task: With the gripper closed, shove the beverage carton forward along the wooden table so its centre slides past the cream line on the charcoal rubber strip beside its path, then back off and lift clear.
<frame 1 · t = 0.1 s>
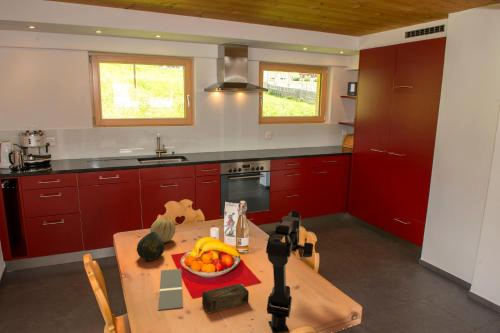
hand: (292, 257, 159), 15 cm above the table, tool tilted 30°, fingers open, 9 cm apart
squash: (150, 257, 188), on the table
cantaloupe: (163, 241, 210), on the table
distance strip: (170, 287, 158), on the table
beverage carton: (225, 304, 147), on the table
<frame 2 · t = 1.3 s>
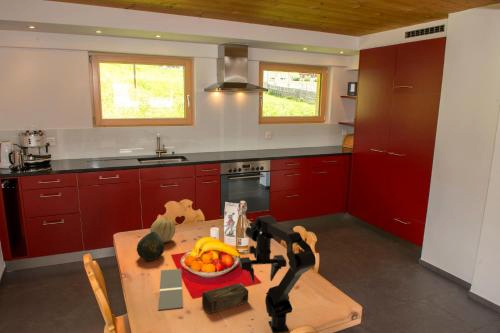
hand: (262, 281, 141), 13 cm above the table, tool pointing down, fingers open, 7 cm apart
nothing on the table moved.
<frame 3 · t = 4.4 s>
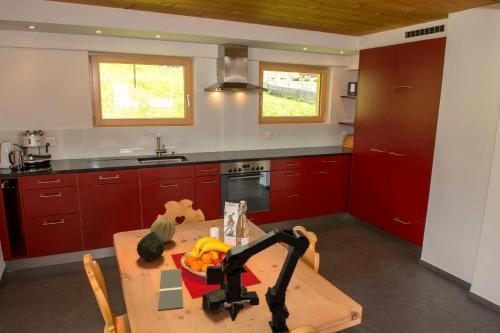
hand: (232, 320, 129), 4 cm above the table, tool pointing down, fingers closed
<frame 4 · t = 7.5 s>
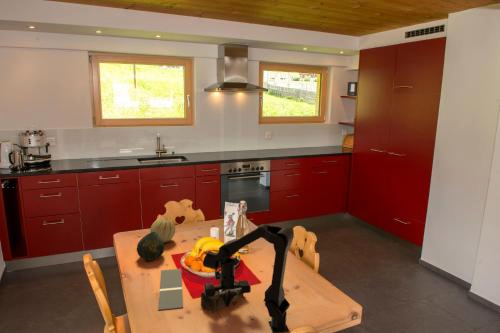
hand: (226, 306, 142), 2 cm above the table, tool pointing down, fingers closed
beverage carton: (222, 301, 149), on the table, touching gripper
everything else where it was.
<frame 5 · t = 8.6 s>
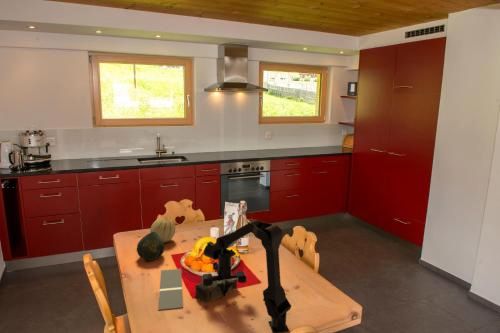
hand: (224, 296, 149), 2 cm above the table, tool pointing down, fingers closed
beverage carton: (216, 293, 155), on the table
everything else where it was.
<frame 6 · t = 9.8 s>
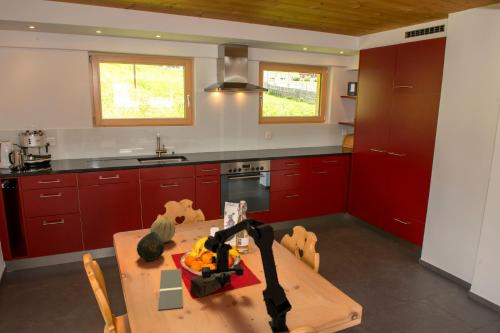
hand: (222, 288, 156), 2 cm above the table, tool pointing down, fingers closed
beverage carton: (211, 288, 160), on the table, touching gripper
everything else where it was.
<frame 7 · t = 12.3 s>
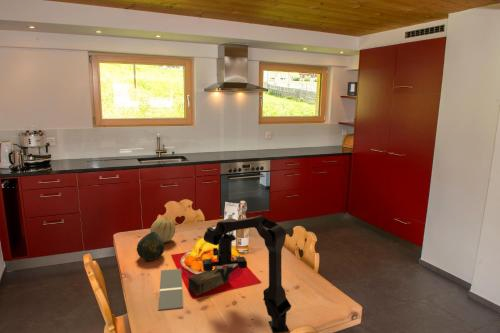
hand: (224, 281, 148), 9 cm above the table, tool pointing down, fingers closed
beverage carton: (209, 286, 161), on the table
everything else where it was.
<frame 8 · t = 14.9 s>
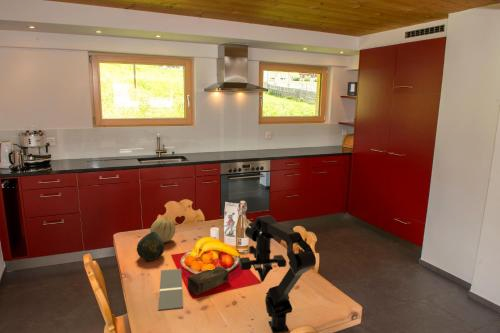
hand: (261, 281, 141), 13 cm above the table, tool pointing down, fingers closed
nothing on the table moved.
at the end: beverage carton inside the target area (25.2 cm from its centre), on the table; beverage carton moved 17.5 cm from its start; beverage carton tilted 0° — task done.
